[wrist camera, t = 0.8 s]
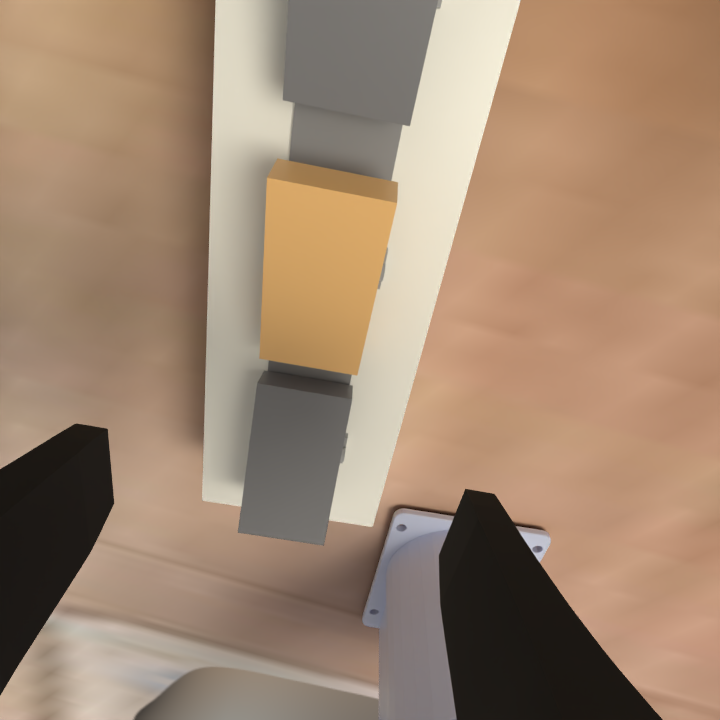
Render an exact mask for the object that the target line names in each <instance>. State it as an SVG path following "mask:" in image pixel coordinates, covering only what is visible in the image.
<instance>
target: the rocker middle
mask: <svg viewBox="0 0 720 720" xmlns="http://www.w3.org/2000/svg"><path fill="white" fill-rule="evenodd" d="M397 197H398V182H394V181H389V180H384V179H379V178H374V177H369V176H364V175H359V174H354V173H349V172H344V171H339V170H334V169H329V168H324V167H319V166H313V165H308V164H303V163H298V162H293V161H288V160H283V159H278V158H277V160H276V162H275V164H274V166H273V167H272V169H271V171H270V173H269V175H268V177H267V188H266V212H265V236H264V259H263V283H262V307H261V331H260V355H259V359H265V360H270V361H276V362H282V363H288V364H293V365H299V366H305V367H311V368H316V369H322V370H328V371H334V372H339V373H345V374H351V375H358V371H359V366H360V362H361V358H362V353H363V349H364V345H365V340H366V336H367V332H368V327H369V323H370V319H371V314H372V310H373V306H374V301H375V297H376V293H377V288H378V284H379V280H380V275H381V271H382V267H383V262H384V258H385V254H386V250H387V245H388V241H389V237H390V232H391V228H392V224H393V219H394V215H395V211H396V206H397Z"/></svg>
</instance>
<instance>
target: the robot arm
mask: <svg viewBox="0 0 720 720" xmlns="http://www.w3.org/2000/svg"><path fill="white" fill-rule="evenodd" d="M113 504H114V496H113V485H112V474H111V462H110V451H109V440H108V429H106V428H100V427H94V426H88V425H82V424H74V425H73V426H71V427H69V428H67V429H66V430H64V431H62V432H61V433H59V434H57V435H56V436H54V437H52V438H51V439H49V440H47V441H46V442H44V443H43V444H41V445H39V446H38V447H36V448H34V449H33V450H31V451H30V452H28V453H26V454H25V455H23V456H21V457H20V458H18V459H16V460H15V461H13V462H12V463H10V464H8V465H7V466H5V467H3V468H2V469H0V695H1V693H2V692H3V690H4V688H5V687H6V685H7V683H8V682H9V680H10V678H11V677H12V675H13V673H14V671H15V670H16V668H17V666H18V665H19V663H20V662H21V660H22V659H23V657H24V656H25V654H26V652H27V651H28V649H29V648H30V646H31V645H32V643H33V642H34V640H35V638H36V637H37V635H38V634H39V632H40V631H41V629H42V628H43V626H44V624H45V623H46V621H47V620H48V618H49V617H50V615H51V614H52V612H53V610H54V609H55V607H56V606H57V604H58V603H59V601H60V600H61V598H62V596H63V595H64V593H65V592H66V590H67V589H68V587H69V586H70V584H71V582H72V581H73V579H74V578H75V576H76V574H77V573H78V571H79V570H80V568H81V567H82V565H83V563H84V562H85V560H86V559H87V557H88V555H89V554H90V552H91V550H92V548H93V546H94V544H95V542H96V540H97V538H98V536H99V534H100V532H101V530H102V528H103V526H104V524H105V522H106V519H107V517H108V515H109V513H110V511H111V509H112V507H113ZM400 524H403V525H400ZM550 543H551V539H550V536H549V533H547V532H546V531H543V530H538V529H532V528H525V527H519V526H515V525H514V523H513V522H512V520H511V518H510V517H509V515H508V514H507V512H506V511H505V509H504V508H503V506H502V505H501V503H500V502H499V500H498V499H497V497H496V496H495V494H492V493H486V492H480V491H474V490H468V489H465V491H464V494H463V496H462V499H461V501H460V504H459V506H458V509H457V511H456V514H455V516H450V515H444V514H437V513H431V512H425V511H418V510H412V509H406V508H402V509H398V510H397V511H395V513H394V514H393V518H392V521H391V524H390V527H389V531H388V534H387V537H386V540H385V544H384V547H383V550H382V553H381V557H380V560H379V563H378V567H377V570H376V573H375V576H374V580H373V583H372V586H371V589H370V593H369V596H368V599H367V602H366V606H365V609H364V612H363V617H362V622H363V624H364V625H366V626H368V627H374V628H379V720H662V718H661V717H660V716H659V715H658V714H657V713H656V712H655V711H654V710H653V708H652V707H651V706H650V705H649V704H648V703H647V701H646V700H645V699H644V698H643V697H642V696H641V694H640V693H639V692H638V691H637V690H636V689H635V687H634V686H633V685H632V684H631V683H630V682H629V680H628V679H627V678H626V677H625V676H624V675H623V673H622V672H621V671H620V670H619V669H618V667H617V666H616V665H615V664H614V663H613V661H612V660H611V659H610V658H609V656H608V655H607V654H606V653H605V651H604V650H603V649H602V648H601V646H600V645H599V644H598V642H597V641H596V640H595V639H594V637H593V636H592V635H591V633H590V632H589V631H588V629H587V628H586V627H585V626H584V624H583V623H582V622H581V620H580V619H579V618H578V616H577V615H576V614H575V612H574V611H573V610H572V608H571V607H570V606H569V604H568V603H567V601H566V600H565V599H564V597H563V596H562V594H561V593H560V592H559V590H558V589H557V587H556V586H555V584H554V583H553V581H552V580H551V579H550V577H549V576H548V574H547V573H546V571H545V570H544V569H543V567H542V566H541V564H540V561H541V559H542V558H543V556H544V554H545V552H546V550H547V549H548V547H549V545H550Z"/></svg>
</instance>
